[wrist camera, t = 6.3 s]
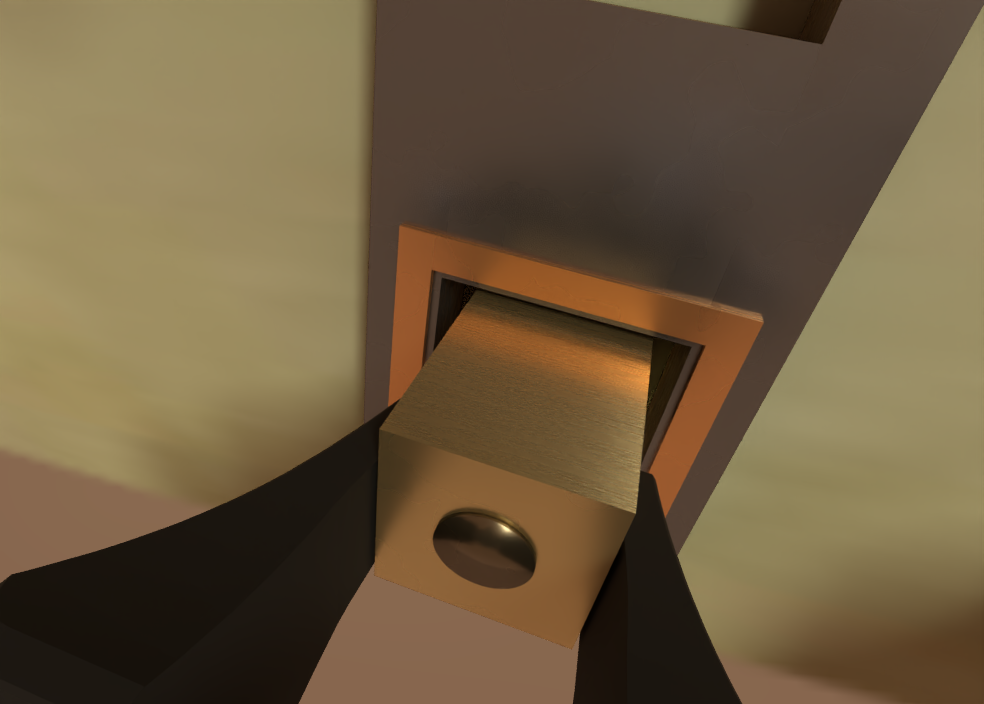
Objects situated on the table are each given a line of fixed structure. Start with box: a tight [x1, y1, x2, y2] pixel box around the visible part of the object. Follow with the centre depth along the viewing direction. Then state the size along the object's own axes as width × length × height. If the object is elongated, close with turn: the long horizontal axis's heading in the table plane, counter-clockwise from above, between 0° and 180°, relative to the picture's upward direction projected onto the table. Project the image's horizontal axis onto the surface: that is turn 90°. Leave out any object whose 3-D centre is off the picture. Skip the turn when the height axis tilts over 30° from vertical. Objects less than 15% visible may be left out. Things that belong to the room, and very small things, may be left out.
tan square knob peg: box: [374, 288, 653, 649], centre depth 12 cm, size 4×4×6 cm
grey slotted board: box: [364, 0, 984, 555], centre depth 11 cm, size 9×22×2 cm, turn 170°
